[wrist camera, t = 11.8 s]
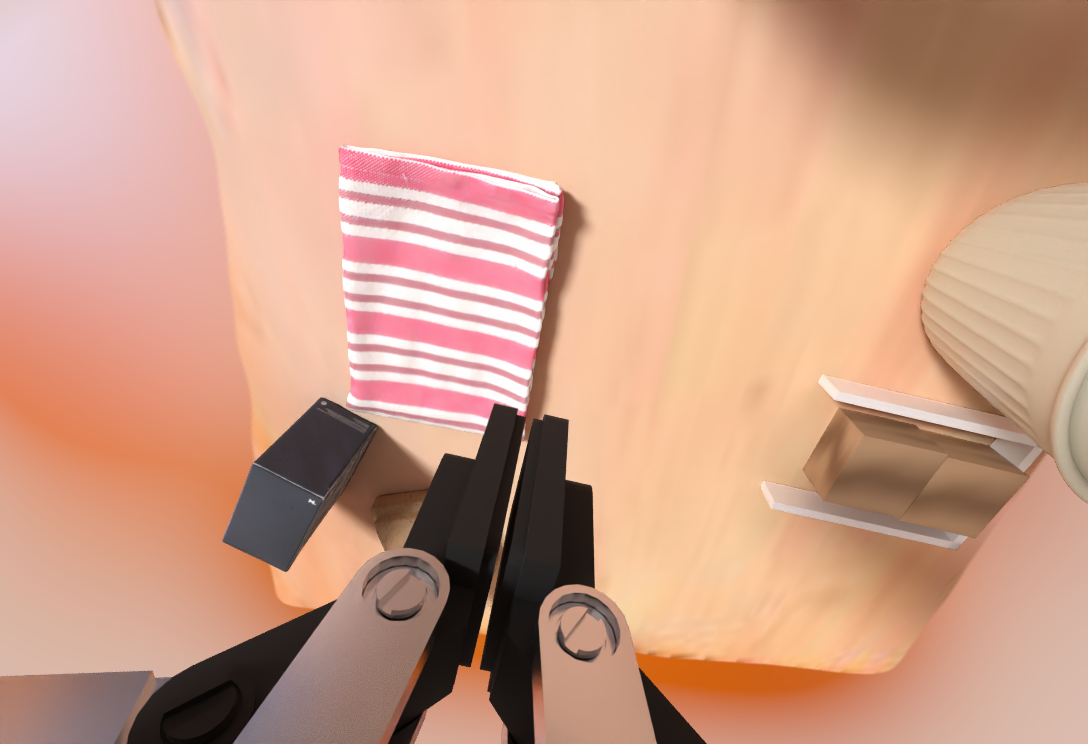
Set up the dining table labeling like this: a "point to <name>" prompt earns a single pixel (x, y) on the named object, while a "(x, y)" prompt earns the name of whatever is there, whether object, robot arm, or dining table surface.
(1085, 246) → the canister
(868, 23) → the dining table surface
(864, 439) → the tile
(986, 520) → the tile
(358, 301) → the dish towel
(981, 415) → the tray
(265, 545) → the small box
